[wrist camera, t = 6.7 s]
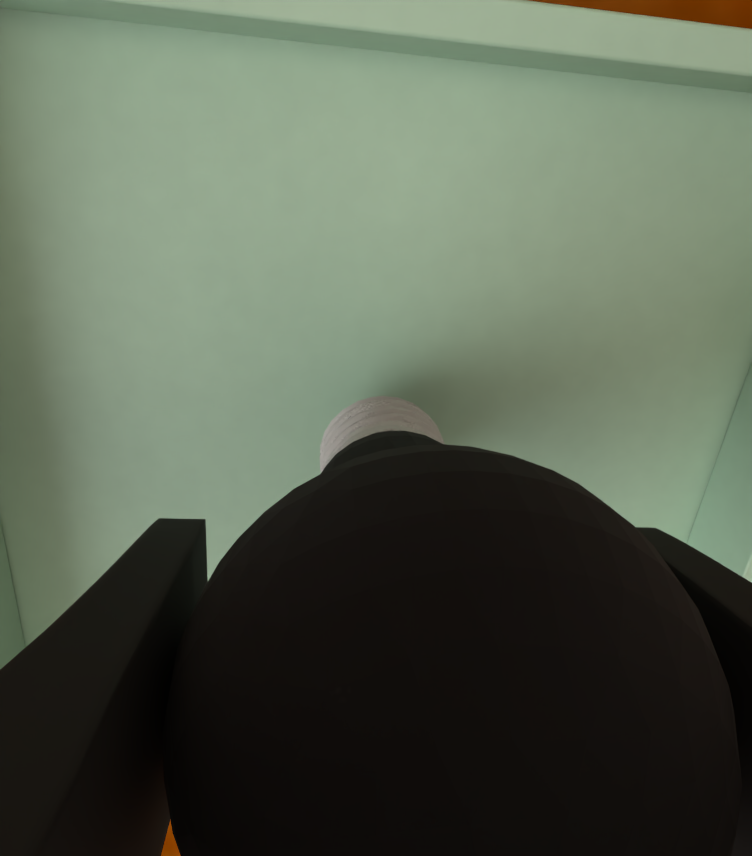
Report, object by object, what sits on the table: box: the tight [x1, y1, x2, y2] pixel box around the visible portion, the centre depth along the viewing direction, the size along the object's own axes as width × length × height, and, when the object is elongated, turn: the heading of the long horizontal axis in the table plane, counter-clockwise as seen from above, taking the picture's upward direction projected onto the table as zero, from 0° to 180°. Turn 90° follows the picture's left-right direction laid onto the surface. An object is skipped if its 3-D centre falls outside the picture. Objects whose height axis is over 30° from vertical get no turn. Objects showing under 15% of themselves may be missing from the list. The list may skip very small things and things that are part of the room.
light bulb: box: [162, 396, 742, 856], centre depth 9 cm, size 6×6×10 cm
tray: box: [0, 0, 752, 669], centre depth 13 cm, size 17×15×2 cm
